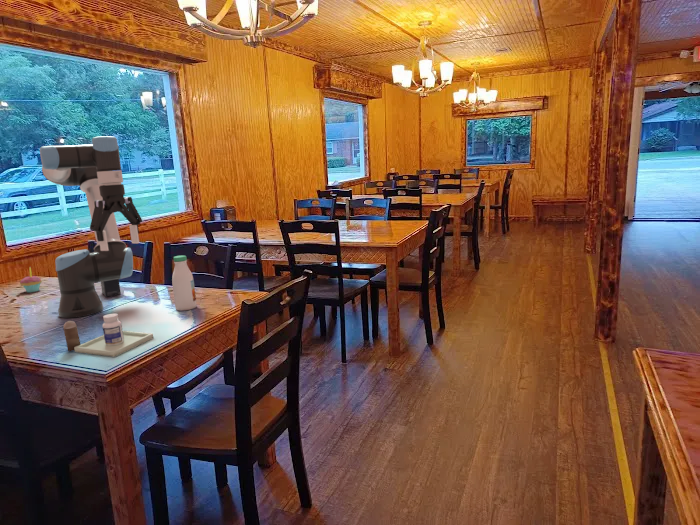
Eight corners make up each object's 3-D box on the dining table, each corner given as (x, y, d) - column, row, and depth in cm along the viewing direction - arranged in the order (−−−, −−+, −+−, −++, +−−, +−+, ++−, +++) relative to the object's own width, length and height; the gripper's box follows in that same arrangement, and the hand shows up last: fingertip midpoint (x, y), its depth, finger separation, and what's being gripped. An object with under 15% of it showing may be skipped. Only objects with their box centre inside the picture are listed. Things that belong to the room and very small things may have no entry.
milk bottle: (190, 311, 186) (183, 258, 182) (171, 311, 187) (164, 258, 183) (200, 305, 193) (194, 254, 189) (182, 305, 195) (175, 254, 191)
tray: (74, 352, 150) (74, 347, 150) (116, 334, 164) (115, 329, 164) (114, 356, 144) (113, 352, 144) (153, 338, 158) (152, 333, 158)
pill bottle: (109, 340, 157) (105, 313, 155) (126, 339, 157) (122, 312, 155) (102, 346, 151) (98, 318, 150) (120, 345, 152) (116, 317, 150)
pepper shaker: (65, 351, 151) (59, 323, 149) (73, 347, 154) (67, 319, 153) (76, 351, 150) (70, 322, 149) (83, 346, 154) (78, 318, 152)
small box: (122, 294, 217) (118, 270, 215) (105, 297, 213) (101, 273, 211) (117, 290, 226) (113, 267, 223) (101, 292, 222) (97, 269, 220)
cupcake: (46, 289, 233) (42, 264, 231) (27, 294, 226) (22, 268, 224) (37, 288, 238) (32, 263, 236) (18, 292, 231) (13, 267, 229)
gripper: (88, 186, 155) (99, 254, 159) (147, 181, 177) (155, 240, 182) (70, 187, 157) (81, 253, 162) (131, 182, 180) (139, 240, 184)
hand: (120, 247), depth 172 cm, fingers open, 13 cm apart
